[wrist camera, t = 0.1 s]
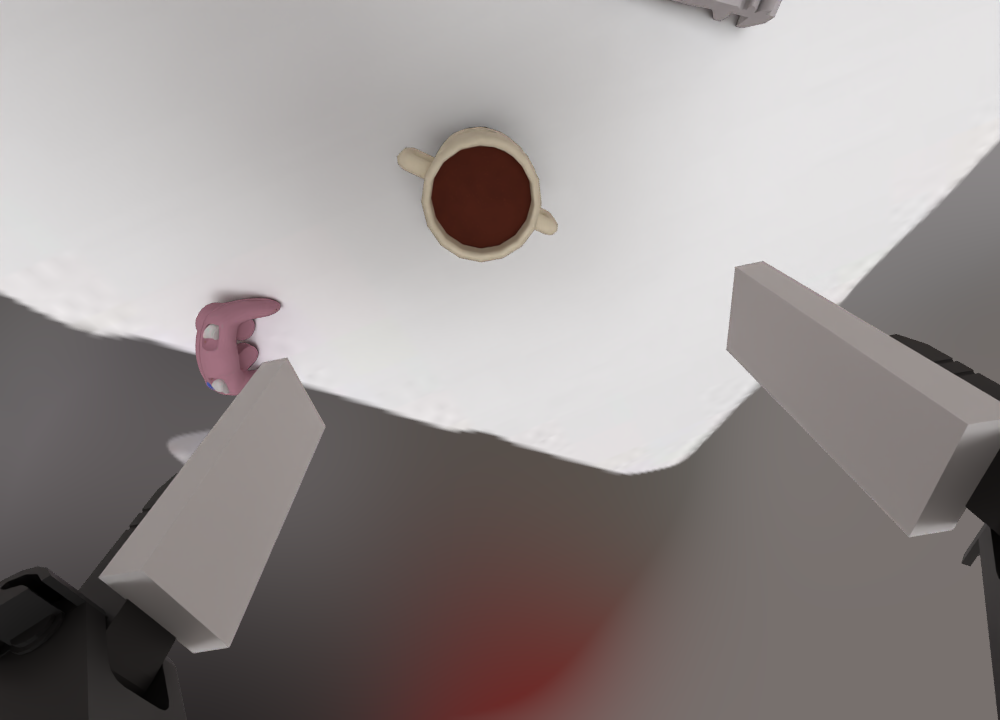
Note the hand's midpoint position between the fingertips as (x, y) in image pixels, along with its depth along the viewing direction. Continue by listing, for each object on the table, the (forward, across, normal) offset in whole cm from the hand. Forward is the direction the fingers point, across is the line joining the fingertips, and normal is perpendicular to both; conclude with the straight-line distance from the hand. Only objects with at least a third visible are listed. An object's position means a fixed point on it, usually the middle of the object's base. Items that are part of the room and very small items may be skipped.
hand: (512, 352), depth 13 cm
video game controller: (+28, -26, -10) cm, 40 cm away
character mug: (+28, 0, +1) cm, 28 cm away
